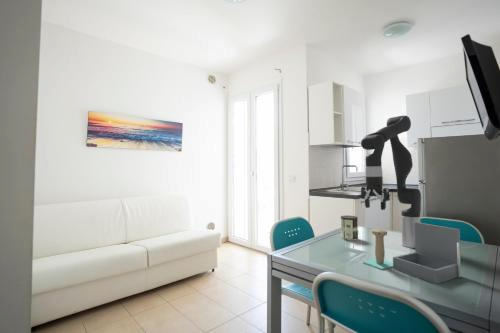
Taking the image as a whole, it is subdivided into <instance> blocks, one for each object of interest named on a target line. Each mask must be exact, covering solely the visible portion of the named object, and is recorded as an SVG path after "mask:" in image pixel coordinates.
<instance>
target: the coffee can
mask: <svg viewBox="0 0 500 333" xmlns="http://www.w3.org/2000/svg"><path fill="white" fill-rule="evenodd" d="M358 219H359V218H358V216H356V215H341V216H340V227H341V228H340V229H341V230H340V232H341V236H340V237H342V238H343V239H342V238H341V239H342V240H344V239H347V240H346V241H358V240H359V232H358V230H359V226H358V222H359V221H358ZM357 239H358V240H357Z"/></svg>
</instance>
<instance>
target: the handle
mask: <svg viewBox="0 0 500 333" xmlns="http://www.w3.org/2000/svg"><path fill="white" fill-rule="evenodd" d="M371 234H373V235H374V236H375V240H374V241H375V242H374V243H375V245H374V256H375V259H376V263H378V264H384V261H385V254H386V253H385V240H384V238H385V236H388V231H387V230H382V229H371Z"/></svg>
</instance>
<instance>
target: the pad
mask: <svg viewBox="0 0 500 333" xmlns="http://www.w3.org/2000/svg"><path fill="white" fill-rule="evenodd" d="M362 263H363V264H365V265H367V266H370V267H374V268H376V269H378V270H380V271H384V270H387V269H391V268H393V262H390V261H387V260H384V264H378V263H376V258H375V259H374V258H373V259H370V260H365V261H363V262H362Z"/></svg>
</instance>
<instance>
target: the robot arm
mask: <svg viewBox="0 0 500 333" xmlns="http://www.w3.org/2000/svg"><path fill="white" fill-rule="evenodd" d="M411 122H412V121H411V118H410V117H409V116H408V115H399V116H393V117H389V118H388V119H386V126H384V127H382V128H379V129H378V130H376V131H375V132H372V133H370V134H366V135H365V136H364V137H362V139H361V140H360V146H361V148H362V149H363V150H366V151H370V150H373V152H372V153H371V154H370V153H369V154H367V155H366V156H365V185H366V186H362V187H360V197H361V198H360V199H363V201H364V206H365V208H367V209H368V208H370V207H371V204H370V203H371V202H370V201H371V200H370V199H371V197H375V198H376V197H377V198H378V199H379V201H380V210H381V211H384V210H386V208H387V203H386V202H389V201H390V200H391V198H390V197H391V196H390V189H389V187H384V188H383V184H384V180H383V178H384V177H383V168H382V164H383V163H382V156H383V153H384V152H383V151H384V149H385V144H386V143H387V142H388V141H390V146H391V147H390V148H391V152H392V160H393V161H392V162H393V166H394V172H395V178H396V192H397V199H398V201H399V203H400V204H404V205H410V207H409V208H407V209H402V210H401V212H400V213H401V243H402V244H401V245H402V246H403V247H406V248H409V249H410V248H413V249H415V222H418V223H421V210H422V209H421V208H422V205H421V204H422V194H421V193H422V192H421V190H420V189H419V188H416V187H415V188H408V187H407V185H406V181H407V178H408V176H409V174H410V173H411V171H412V168H413V165H414V164H413V157H412V154H411V152H410V151H409V149H407V147H406V146H405V145H404V144H403V143H402V142H401V140H400V138H399V135H400V134H402V133H405V132H408V131H410V129H411V126H412V123H411Z"/></svg>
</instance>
